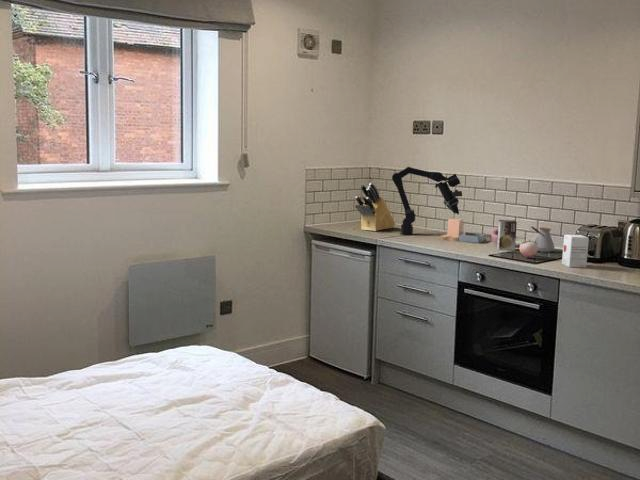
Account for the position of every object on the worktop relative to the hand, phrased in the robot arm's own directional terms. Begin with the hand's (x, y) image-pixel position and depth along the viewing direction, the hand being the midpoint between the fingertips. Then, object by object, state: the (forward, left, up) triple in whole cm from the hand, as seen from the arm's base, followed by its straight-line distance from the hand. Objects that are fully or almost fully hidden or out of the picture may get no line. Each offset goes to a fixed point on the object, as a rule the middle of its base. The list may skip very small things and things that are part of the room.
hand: (457, 213), depth 438 cm
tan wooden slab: (-8, -7, -14) cm, 18 cm away
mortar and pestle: (+8, -35, -15) cm, 39 cm away
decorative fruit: (-5, -75, -15) cm, 77 cm away
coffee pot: (+14, -60, -15) cm, 64 cm away
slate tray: (0, -17, -14) cm, 22 cm away
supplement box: (+4, -98, -15) cm, 99 cm away
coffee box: (+2, -47, -15) cm, 49 cm away
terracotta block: (-7, -9, -12) cm, 16 cm away
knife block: (-36, +39, -15) cm, 55 cm away
